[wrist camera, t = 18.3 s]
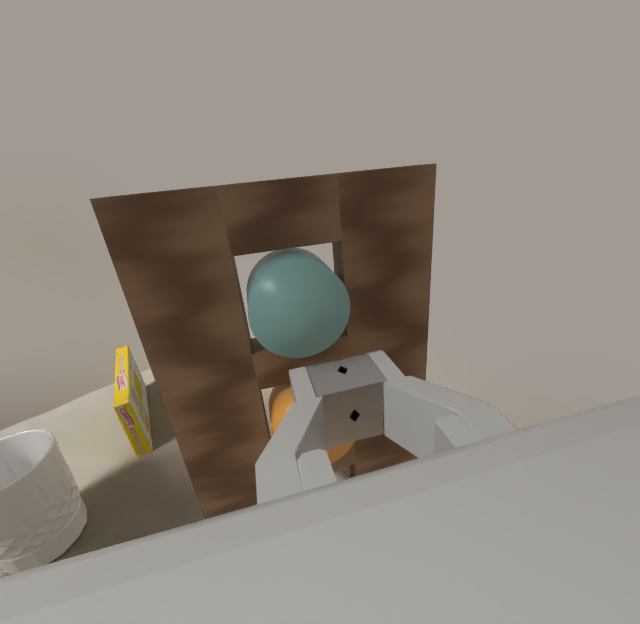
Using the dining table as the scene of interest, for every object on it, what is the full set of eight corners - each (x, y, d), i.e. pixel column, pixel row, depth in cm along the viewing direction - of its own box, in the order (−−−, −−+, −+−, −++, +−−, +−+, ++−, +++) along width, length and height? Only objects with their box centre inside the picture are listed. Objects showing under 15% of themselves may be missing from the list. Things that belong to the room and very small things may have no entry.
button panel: (233, 596, 26) (89, 199, 13) (234, 504, 33) (142, 191, 21) (417, 537, 28) (436, 163, 16) (381, 464, 35) (375, 168, 23)
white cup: (31, 597, 27) (-33, 519, 23) (-26, 569, 29) (-93, 494, 25) (112, 508, 34) (74, 436, 30) (60, 491, 36) (18, 423, 32)
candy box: (132, 392, 53) (115, 348, 49) (146, 387, 54) (130, 344, 50) (135, 459, 40) (111, 406, 36) (154, 451, 40) (132, 399, 37)
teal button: (258, 366, 16) (238, 271, 14) (255, 336, 19) (239, 254, 17) (352, 347, 17) (347, 255, 15) (334, 321, 20) (328, 241, 18)
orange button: (280, 478, 19) (267, 413, 17) (274, 436, 23) (263, 377, 20) (359, 457, 20) (355, 393, 18) (342, 420, 23) (338, 361, 21)
